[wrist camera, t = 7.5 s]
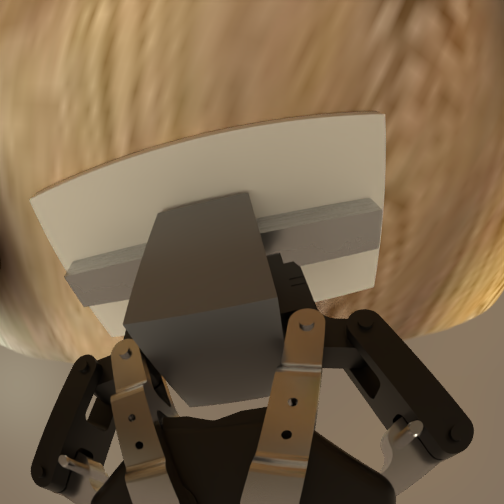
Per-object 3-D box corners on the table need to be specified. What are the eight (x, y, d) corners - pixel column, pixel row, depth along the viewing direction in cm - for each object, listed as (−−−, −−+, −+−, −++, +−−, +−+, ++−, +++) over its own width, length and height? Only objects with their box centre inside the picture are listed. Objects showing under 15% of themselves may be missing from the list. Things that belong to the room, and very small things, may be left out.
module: (248, 192, 13) (277, 297, 7) (265, 285, 16) (290, 391, 11) (157, 213, 13) (122, 324, 7) (192, 300, 16) (190, 407, 11)
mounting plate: (375, 111, 12) (385, 114, 12) (368, 278, 19) (373, 287, 19) (37, 192, 13) (29, 199, 12) (114, 327, 19) (111, 337, 19)
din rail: (369, 197, 14) (382, 209, 13) (367, 234, 16) (378, 248, 15) (72, 261, 14) (64, 276, 13) (90, 291, 16) (84, 306, 15)
